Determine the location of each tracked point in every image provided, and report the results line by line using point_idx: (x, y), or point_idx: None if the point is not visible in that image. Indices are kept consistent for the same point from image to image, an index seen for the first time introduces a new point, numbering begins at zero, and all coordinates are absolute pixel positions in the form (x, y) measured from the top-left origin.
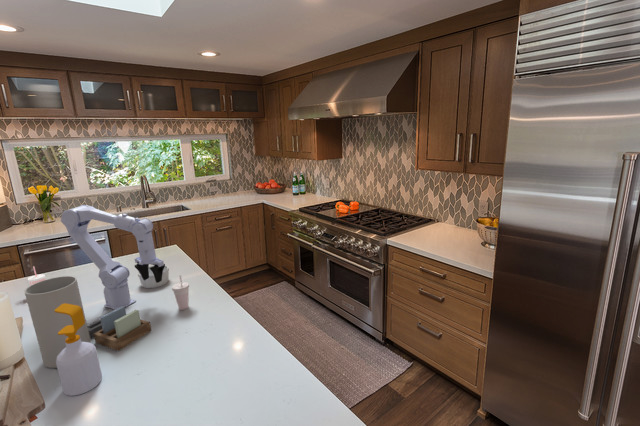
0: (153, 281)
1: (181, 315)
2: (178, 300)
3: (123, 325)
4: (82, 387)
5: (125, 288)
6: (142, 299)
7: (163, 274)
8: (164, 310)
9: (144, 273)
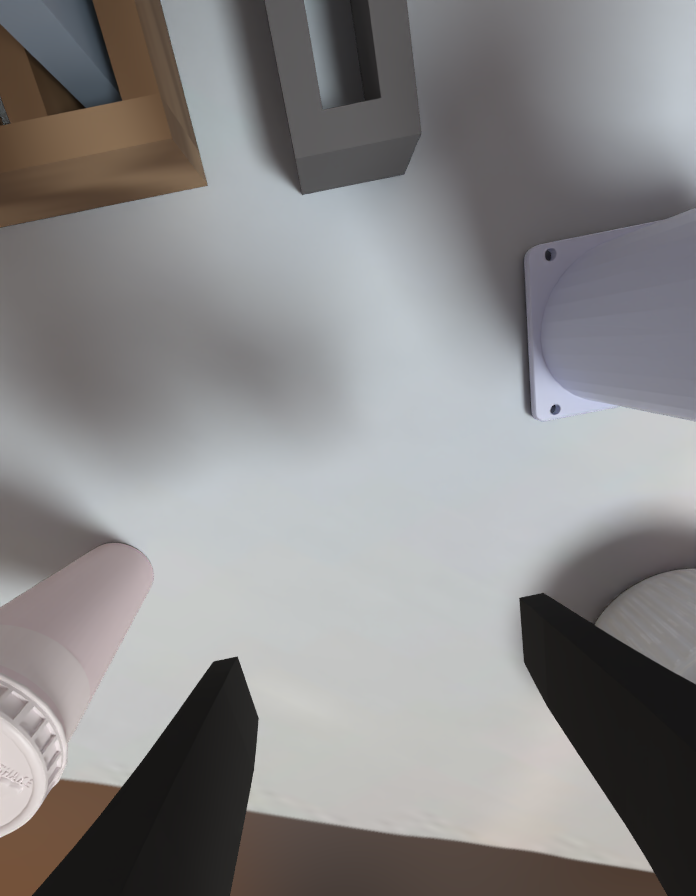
0: (645, 645)
1: (4, 504)
2: (30, 590)
3: None
4: None
5: (684, 359)
6: (520, 466)
7: None
8: (190, 473)
9: (611, 728)
